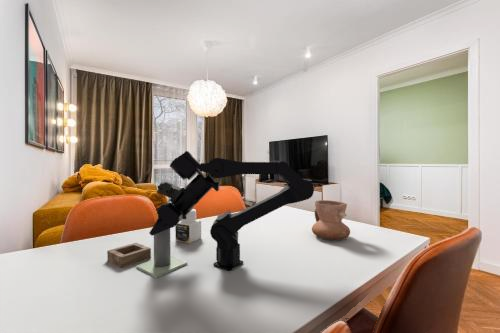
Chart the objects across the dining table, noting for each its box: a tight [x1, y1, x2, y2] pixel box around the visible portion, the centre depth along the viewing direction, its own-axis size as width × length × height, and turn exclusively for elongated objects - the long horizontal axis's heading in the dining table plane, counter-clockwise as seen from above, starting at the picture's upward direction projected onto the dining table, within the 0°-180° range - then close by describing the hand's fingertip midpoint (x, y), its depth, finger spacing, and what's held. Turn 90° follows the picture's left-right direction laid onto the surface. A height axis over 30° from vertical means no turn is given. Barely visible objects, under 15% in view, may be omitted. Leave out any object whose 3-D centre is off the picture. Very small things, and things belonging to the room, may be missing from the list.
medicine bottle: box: [174, 208, 202, 244], centre depth 91 cm, size 7×7×12 cm
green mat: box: [135, 255, 188, 279], centre depth 67 cm, size 10×10×1 cm
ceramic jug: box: [311, 199, 351, 241], centre depth 93 cm, size 18×14×14 cm
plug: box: [153, 228, 172, 267], centre depth 67 cm, size 4×4×11 cm
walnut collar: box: [106, 242, 152, 269], centre depth 73 cm, size 9×9×3 cm
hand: (156, 229), depth 67 cm, fingers open, 9 cm apart
